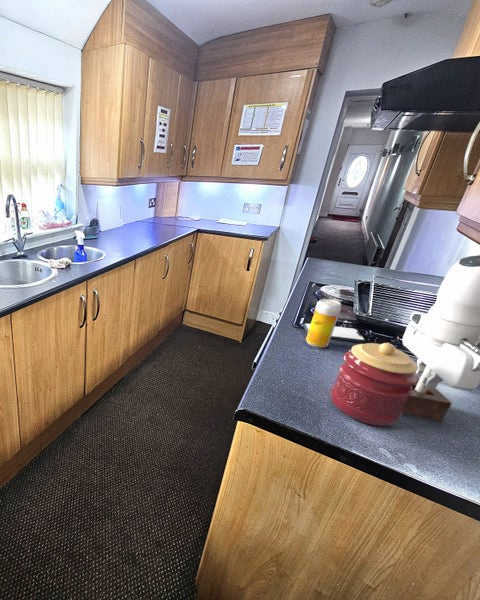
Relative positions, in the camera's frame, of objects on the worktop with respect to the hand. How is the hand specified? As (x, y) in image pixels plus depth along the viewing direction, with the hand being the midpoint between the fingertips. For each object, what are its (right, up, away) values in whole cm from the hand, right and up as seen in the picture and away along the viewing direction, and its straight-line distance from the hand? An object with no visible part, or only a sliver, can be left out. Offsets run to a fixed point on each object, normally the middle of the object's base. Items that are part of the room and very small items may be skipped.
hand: (424, 382), depth 76 cm
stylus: (0, -7, +3) cm, 7 cm away
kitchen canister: (-13, -7, +2) cm, 15 cm away
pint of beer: (-3, +5, +30) cm, 31 cm away
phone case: (+6, +7, +36) cm, 37 cm away
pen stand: (0, -7, +3) cm, 7 cm away
